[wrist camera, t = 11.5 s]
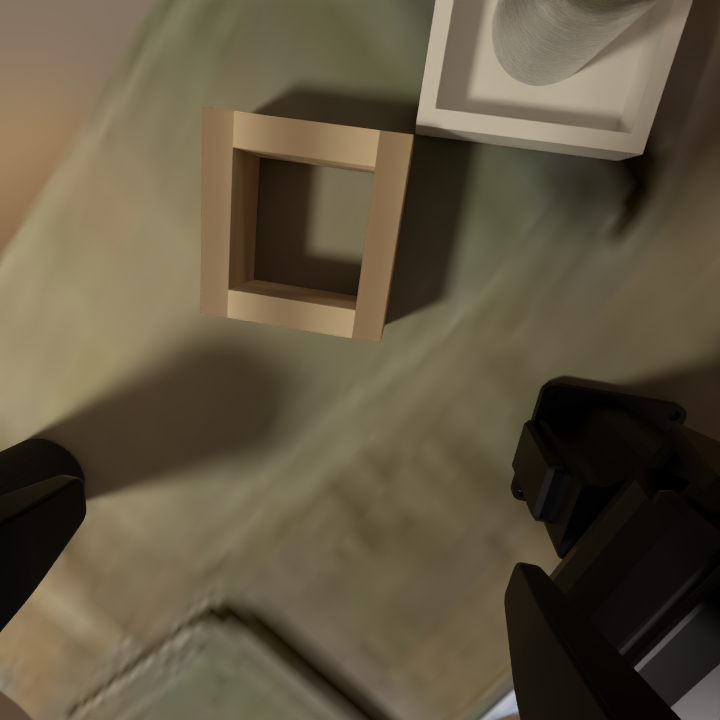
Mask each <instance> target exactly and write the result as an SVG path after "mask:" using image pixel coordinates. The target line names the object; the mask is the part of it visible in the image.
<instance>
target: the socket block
mask: <svg viewBox="0 0 720 720" xmlns="http://www.w3.org/2000/svg"><path fill="white" fill-rule="evenodd" d="M413 148H414V140H413V135H411V134H404V133H396V132H389V131H381V130H374V129H366V128H359V127H351V126H344V125H336V124H329V123H321V122H313V121H306V120H298V119H291V118H283V117H276V116H268V115H261V114H253V113H246V112H238V111H231V110H223V109H215V108H208V107H202V202H201V297H200V313H204V314H210V315H216V316H222V317H228V318H234V319H240V320H246V321H252V322H257V323H263V324H269V325H275V326H281V327H287V328H293V329H299V330H305V331H311V332H317V333H323V334H329V335H335V336H341V337H347V338H353V339H359V340H365V341H371V342H377V343H380V341H381V338H382V334H383V330H384V326H385V321H386V315H387V309H388V302H389V296H390V290H391V284H392V278H393V272H394V265H395V259H396V253H397V247H398V241H399V234H400V228H401V222H402V216H403V210H404V204H405V197H406V191H407V185H408V179H409V173H410V167H411V160H412V154H413ZM260 157H261V158H268V159H275V160H283V161H290V162H297V163H304V164H311V165H318V166H326V167H333V168H340V169H347V170H354V171H361V172H368V173H374V178H373V186H372V193H371V200H370V208H369V215H368V222H367V230H366V237H365V244H364V252H363V259H362V266H361V274H360V281H359V288H358V296H354V295H348V294H342V293H335V292H329V291H323V290H317V289H310V288H304V287H298V286H292V285H285V284H279V283H273V282H267V281H260V280H254V265H255V246H256V227H257V208H258V189H259V169H260Z"/></svg>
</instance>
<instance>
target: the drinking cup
mask: <svg viewBox="0 0 720 720" xmlns="http://www.w3.org/2000/svg"><path fill="white" fill-rule="evenodd" d="M59 475H67V476H72V477H77V478H80V479H82V481H83V482H84V476H83V473H82V470H81V468H80V466H79V465H78V463H77V462H76V460H75V459H74V458H73V457H72V456H71V455H70V454H69V453H68V452H67V451H66V450H65V449H63V448H62V447H60V446H58V445H57V444H55V443H52V442H50V441H46V440H42V439H30V440H26V441H23V442H21V443H19V444H16V445H14V446H12V447H10V448H8V449H6V450H3V451H1V452H0V496H3V495H5V494H8V493H11V492H14V491H17V490H20V489H22V488H25V487H28V486H31V485H34V484H36V483H39V482H42V481H45V480H48V479H51V478H53V477H56V476H59Z"/></svg>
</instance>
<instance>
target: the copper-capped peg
mask: <svg viewBox="0 0 720 720" xmlns="http://www.w3.org/2000/svg"><path fill="white" fill-rule="evenodd" d="M658 1H659V0H498V2H497V4H496V7H495V11H494V14H493V20H492V32H491V33H492V43H493V48H494V52H495V55H496V57H497V59H498V61H499V63H500V65H501V66H502V68H503V69H504V70H505V71H506V72H507V73H508V74H509V75H510V76H511V77H512V78H514V79H515V80H517V81H519V82H521V83H524V84H527V85H532V86H547V85H551V84H555V83H558V82H560V81H563V80H564V79H566V78H568V77H570V76H571V75H573V74H574V73H576V72H577V71H578V70H579V69H580V68H581V67H582V66H584V65H585V64H586V63H587V62H588V61H589V60H591V59H592V58H593V57H594V56H595V55H596V54H598V53H599V52H600V51H601V50H602V49H603V48H604V47H606V46H607V45H608V44H609V43H610V42H611V41H613V40H614V39H615V38H616V37H617V36H618V35H620V34H621V33H622V32H623V31H624V30H625V29H626V28H628V27H629V26H630V25H631V24H632V23H633V22H635V21H636V20H637V19H638V18H639V17H640V16H641V15H643V14H644V13H645V12H646V11H647V10H648V9H650V8H651V7H652V6H653V5H654V4H655V3H657V2H658Z"/></svg>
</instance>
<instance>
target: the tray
mask: <svg viewBox="0 0 720 720" xmlns="http://www.w3.org/2000/svg"><path fill="white" fill-rule="evenodd" d="M692 1H693V0H659V1H658V2H657V3H655V4H654V5H653V6H652V7H651V8H650V9H648V10H647V11H646V12H645V13H644V14H643V15H641V16H640V17H639V18H638V19H637V20H636V21H635V22H633V23H632V24H631V25H630V26H629V27H628V28H626V29H625V30H624V31H623V32H622V33H621V34H620V35H618V36H617V37H616V38H615V39H614V40H613V41H611V42H610V43H609V44H608V45H607V46H606V47H604V48H603V49H602V50H601V51H600V52H599V53H598V54H596V55H595V56H594V57H593V58H592V59H591V60H589V61H588V62H587V63H586V64H585V65H584V66H582V67H581V68H580V69H579V70H578V71H577V72H576V73H574V74H573V75H571V76H570V77H568V78H566V79H564V80H563V81H560V82H558V83H555V84H551V85H547V86H532V85H527V84H524V83H521V82H519V81H517V80H515V79H514V78H512V77H511V76H510V75H509V74H508V73H507V72H506V71H505V70H504V69H503V68H502V66H501V65H500V63H499V61H498V59H497V57H496V55H495V52H494V48H493V43H492V33H491V32H492V20H493V14H494V11H495V7H496V4H497V2H498V0H436V3H435V9H434V15H433V21H432V28H431V34H430V40H429V46H428V52H427V59H426V65H425V71H424V77H423V84H422V90H421V96H420V102H419V108H418V115H417V121H416V134H418V135H425V136H433V137H440V138H448V139H456V140H463V141H471V142H478V143H486V144H493V145H501V146H508V147H516V148H523V149H531V150H539V151H546V152H554V153H561V154H569V155H576V156H584V157H591V158H599V159H607V160H614V161H619V160H623V159H627V158H630V157H634V156H638V155H642V154H643V151H644V148H645V145H646V142H647V139H648V136H649V133H650V130H651V127H652V124H653V121H654V117H655V114H656V111H657V108H658V105H659V102H660V99H661V96H662V93H663V90H664V87H665V84H666V81H667V78H668V75H669V72H670V69H671V66H672V62H673V59H674V56H675V53H676V50H677V47H678V44H679V41H680V38H681V35H682V32H683V29H684V26H685V23H686V20H687V17H688V14H689V11H690V7H691V4H692Z"/></svg>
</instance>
